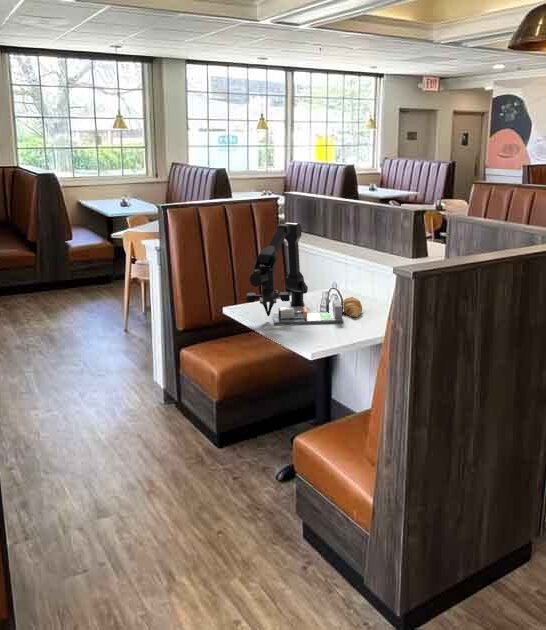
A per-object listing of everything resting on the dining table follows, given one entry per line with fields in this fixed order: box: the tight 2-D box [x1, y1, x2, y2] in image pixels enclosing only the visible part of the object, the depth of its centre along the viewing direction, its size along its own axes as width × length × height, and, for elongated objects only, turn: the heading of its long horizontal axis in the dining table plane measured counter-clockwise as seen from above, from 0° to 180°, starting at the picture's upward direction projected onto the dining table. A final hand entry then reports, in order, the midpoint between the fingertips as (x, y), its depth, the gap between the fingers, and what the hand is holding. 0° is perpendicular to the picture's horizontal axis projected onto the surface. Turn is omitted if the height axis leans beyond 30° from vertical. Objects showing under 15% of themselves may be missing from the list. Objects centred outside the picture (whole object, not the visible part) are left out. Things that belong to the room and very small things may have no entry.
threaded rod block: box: [278, 306, 304, 318], centre depth 276 cm, size 4×11×4 cm, turn 92°
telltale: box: [302, 306, 308, 318], centre depth 276 cm, size 7×1×3 cm, turn 2°
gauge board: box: [272, 299, 345, 326], centre depth 276 cm, size 13×30×7 cm, turn 92°
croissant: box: [342, 296, 363, 318], centre depth 286 cm, size 21×10×8 cm, turn 5°
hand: (268, 315), depth 276 cm, fingers closed
